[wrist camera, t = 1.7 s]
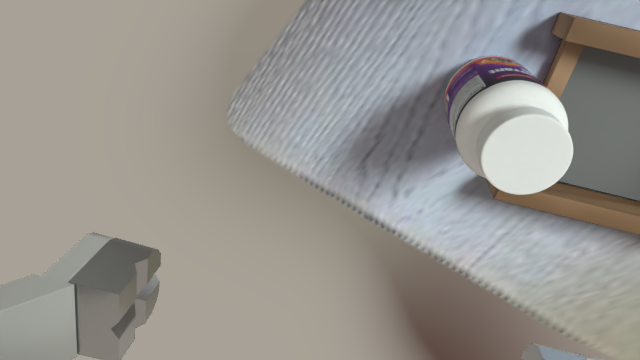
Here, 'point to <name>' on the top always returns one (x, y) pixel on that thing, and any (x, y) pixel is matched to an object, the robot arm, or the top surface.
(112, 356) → the robot arm
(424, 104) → the top surface
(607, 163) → the mat
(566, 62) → the tray
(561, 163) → the pill bottle
